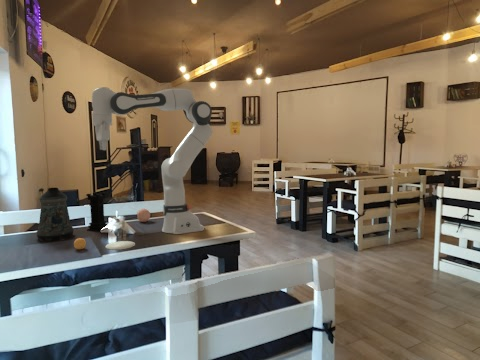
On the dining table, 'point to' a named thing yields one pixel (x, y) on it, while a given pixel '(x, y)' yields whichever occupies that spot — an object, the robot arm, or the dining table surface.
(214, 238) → the dining table surface
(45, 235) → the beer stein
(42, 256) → the dining table surface
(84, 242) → the ball
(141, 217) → the toy ball
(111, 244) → the cream disc
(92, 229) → the chess piece
